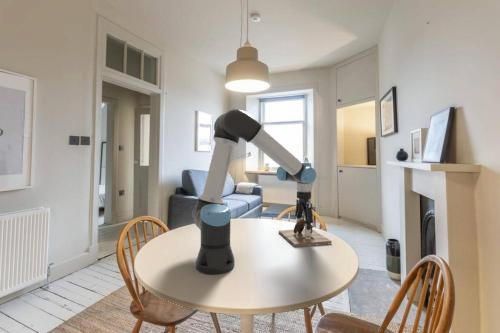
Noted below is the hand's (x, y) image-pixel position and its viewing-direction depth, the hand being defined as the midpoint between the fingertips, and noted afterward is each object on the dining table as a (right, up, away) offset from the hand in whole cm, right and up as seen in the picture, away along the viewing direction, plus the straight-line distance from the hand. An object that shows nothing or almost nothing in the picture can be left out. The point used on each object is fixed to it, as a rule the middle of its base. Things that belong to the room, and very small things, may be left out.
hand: (303, 232), depth 128 cm
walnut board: (0, -3, 0) cm, 3 cm away
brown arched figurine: (-1, 0, -1) cm, 1 cm away
